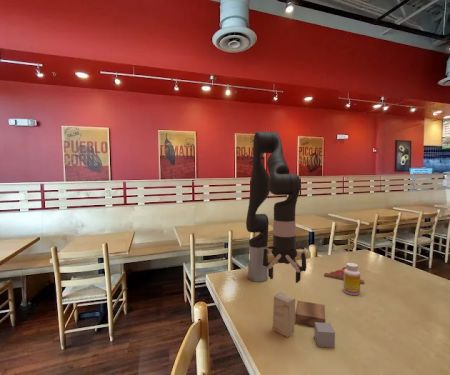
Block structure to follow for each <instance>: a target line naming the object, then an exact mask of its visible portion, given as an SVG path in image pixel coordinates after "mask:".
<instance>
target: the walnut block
mask: <svg viewBox="0 0 450 375" xmlns="http://www.w3.org/2000/svg"><path fill="white" fill-rule="evenodd" d="M325 307H326V306H325V304H322V303H315V302H307V301H303V300H297V303H296V306H295V322H294V325H295V324H296V325H299V326H300V325H301V326H306V327H311V328H315V322H319V323H326V310H325Z"/></svg>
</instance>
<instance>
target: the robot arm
mask: <svg viewBox="0 0 450 375" xmlns="http://www.w3.org/2000/svg"><path fill="white" fill-rule="evenodd" d="M262 154H270V155H269V156H268V158H267V160H266V167H267V170H266V168H265V166H264V164H263V162H262V156H261V155H262ZM284 156H285V155H284V149H283V144H282V140H281V136H280V135H279V133H278V132H276V131H256V132H255V133H254V136H253V146H252V168H251V176H250V177H251V178H250V185H249V186H250V187H249V201H248V208H247V214H246V220H245V222H246V223H245V228H246V230H247V232H248V233H251V234H252V233H258V234H257V235H256V236H254V237H252V238H250V239H249V242H248V243H249V244H248V245H249V247H248V248H249V249H248V250H249V252H248V253H249V255H248V256H249V260H248V261H247V263H248V265H247V267H248V268H247V273H248V274H247V276H248V278H247V279H248V280H251V281H253V282H256V283H257V282H258V283H259V282H260V283H262V282H263V283H264V282H266V281H268V278H269V279H270V280H273V279H274V266H275V264H276V263H279V264H286V265H289V264H290V265H291V266H292V268H294V270H295V284H298V283H299V282H300V281H301V277H302V276H301V275H302V272H306V271H307V254H306V251H305V250H303V251H297V224H296V207H297V206H296V205H297V202H298V198H299V194H300V192H301V188H302V180H301V178H300V176H299V175H298V174H296V173H290V167H289V164H288V163H287V162H286V159H285V157H284ZM267 171H268V172H269V173H268V172H267ZM270 193H271V194H272V195H273V196H287V197H286V199H285V200H282V201H277V202H275V203H274V206H273V224H272V237H273V238H272V241H273V242H272V248H269V247H268V242H269V225H270V224H269V223H270V222H269V217H268V215H267V214H266V213H257V211H258V209H259V208H260V207H261V205H262V204H263V203H264V202H265V200H266V199H267V198H268V197H269V194H270ZM270 254H272V256H273V257H274V258H273V259H272V260H271V261H270V262H269V256H270ZM297 256H298V257H299V259H300V260H301V265H299V263H298V261H297V260H296V257H297Z"/></svg>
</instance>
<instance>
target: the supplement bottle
mask: <svg viewBox="0 0 450 375" xmlns="http://www.w3.org/2000/svg"><path fill="white" fill-rule="evenodd" d="M345 267H347V268H346V269H345V270H344V281H343V292H344V293H346V294H347V295H351V296H358V295H360V293H361V284H360V280H361V272H360V270H359V265H358V264H357V263H355V262H347V263H346V266H345Z"/></svg>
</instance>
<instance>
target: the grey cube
mask: <svg viewBox="0 0 450 375" xmlns="http://www.w3.org/2000/svg"><path fill="white" fill-rule="evenodd" d="M314 339H315V341H316V345H317V347H318V346H324V347H323V348H330V347H335V346H336V344H335V342H336V332H335V330H334V328H333V326H332V323H330V322H325V323H319V322H315V327H314Z"/></svg>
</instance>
